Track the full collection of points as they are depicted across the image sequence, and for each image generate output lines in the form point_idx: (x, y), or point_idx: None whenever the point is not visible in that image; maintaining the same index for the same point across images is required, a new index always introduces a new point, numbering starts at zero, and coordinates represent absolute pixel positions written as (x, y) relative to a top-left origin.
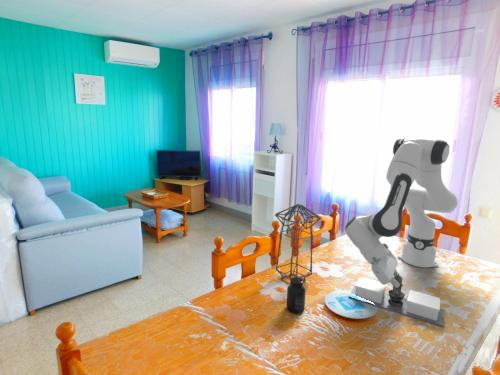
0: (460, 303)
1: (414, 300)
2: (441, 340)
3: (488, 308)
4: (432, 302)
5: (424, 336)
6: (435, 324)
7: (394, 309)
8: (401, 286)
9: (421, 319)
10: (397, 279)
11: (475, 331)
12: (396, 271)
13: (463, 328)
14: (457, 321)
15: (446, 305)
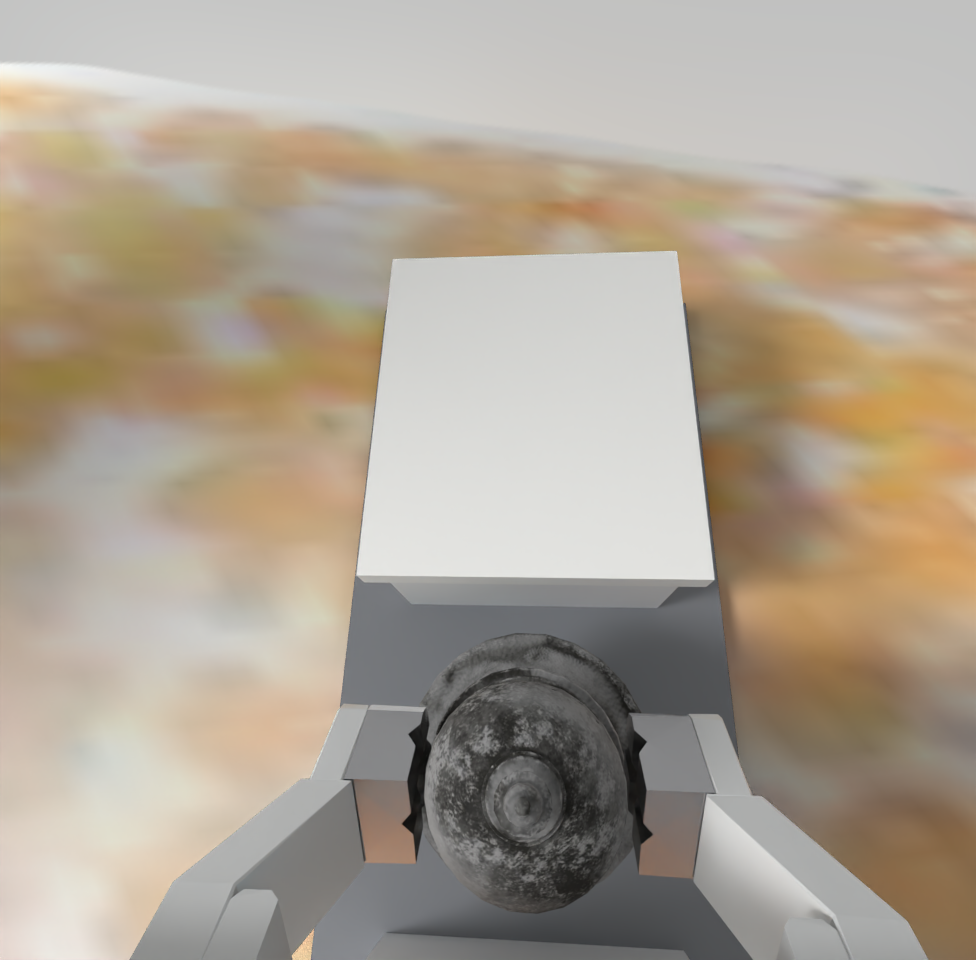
0: (190, 224)
1: (645, 493)
2: (905, 313)
3: (187, 92)
4: (552, 315)
5: (966, 424)
6: (689, 359)
7: None
8: (572, 685)
9: (701, 461)
10: (624, 800)
11: (579, 147)
12: (249, 899)
13: (592, 202)
14: (510, 234)
15: (278, 304)
